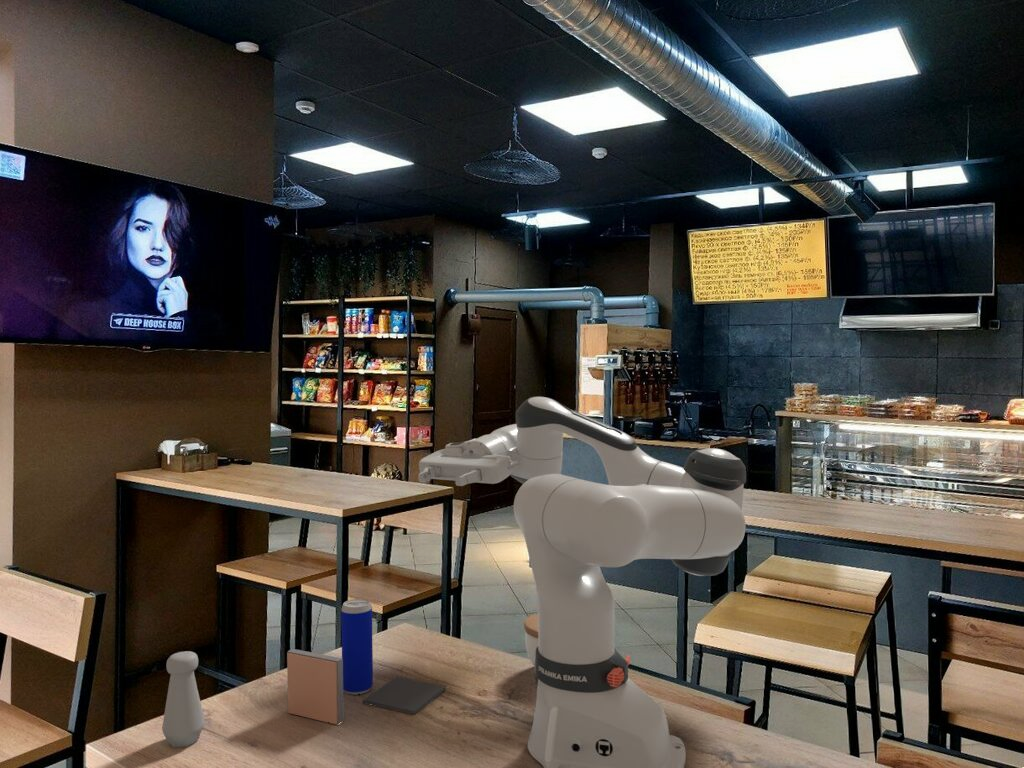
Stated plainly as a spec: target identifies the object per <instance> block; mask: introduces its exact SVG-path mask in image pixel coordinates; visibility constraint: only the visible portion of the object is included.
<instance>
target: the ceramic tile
mask: <svg viewBox="0 0 1024 768" xmlns="http://www.w3.org/2000/svg"><path fill="white" fill-rule="evenodd" d="M286 665H287V667H286V668H287V713H288V714H291V715H296V716H301V717H305V718H308V719H312V720H317V721H320V722H325V723H328V722H329V723H328V724H333V725H337V724H339V723H340V722H342V721H344V720H345V719H344V690H343V658H342V657H338V656H332V655H326V654H322V653H321V654H320V653H317V652H316V653H315V652H311V651H305V650H301V649H295V648H291V649H289V650H288V651H287V653H286ZM342 723H343V722H342Z"/></svg>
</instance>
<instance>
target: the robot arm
mask: <svg viewBox="0 0 1024 768" xmlns="http://www.w3.org/2000/svg"><path fill="white" fill-rule="evenodd" d="M515 420H516V421H515V422H516V423H513V424H509V425H505V426H503V427H499V428H497V429H494V430H493V431H492V432H491V433H489V434H484V435H481V436H479V437H477V438H472V439H469V440H466V441H458V442H449V443H448V444H445V447H444V448H443V449H439V450H436V451H434V452H433V453H430V454H428V455H427V456H424V457H423V458H421V459H420V460H419V462H418V469H419V470H418V471H419V473H418V475H417V477H418V481H419V483H427V482H430V481H431V480H433V479H434V480H442V481H454V483H455V485H456V486H459V487H464V486H465V485H468V484H473V483H474V484H475V483H479V484H488V485H489V484H491V485H494V484H498V483H501V482H503V481H504V480H505V479H507V478H508V477H509V476H510V477H512V478H513V479H514V480H516V481H517V482H519V483H521V484H522V485H521V486H520V487H519V489H518V490H517V493H516V494H515V496H514V501H513V514H514V519H515V521H516V523H517V525H518V527H519V528H520V530H521V533H522V535H523V538H524V541H525V544H526V549H527V554H528V557H529V561H530V567H531V570H532V575H533V580H534V584H535V591H536V602H537V613H538V647H537V648H536V653H535V666H534V677H535V685H536V686H537V687H536V699H535V706H534V707H535V709H534V714H533V721H532V725H531V729H530V733H529V736H528V741H527V750H528V752H529V753H530V755H531V756H532V757H533V758H534V759H535V760H536V761H537V762H538V763H540V764H541V765H542V767H543V768H685V765H686V760H687V754H686V753H687V752H686V747H685V744H684V742H683V740H682V738H681V737H680V738H679V737H677V736H675V735H672V734H670V730H669V724H668V723H669V722H668V718H667V715H666V712H665V711H664V709H663V707H662V706H661V704H659V703H658V702H657V701H655V699H654V698H652V697H651V696H650V695H649V694H648V693H646V691H644V690H643V689H641V688H640V687H639V686H638V685H637V684H636V683H635V682H634V681H633V680H632V679H631V678H629V665H630V664H631V661H630V660H631V658H630V657H631V655H630V654H627V655H626V657H625V658H624V656H622V655H621V654H620V653H619V652H618V651H617V649H616V648H615V646H616V645H615V641H616V640H615V600H614V595H613V591H612V590H611V588H610V587H609V585H608V583H607V582H606V579H605V576H604V575H603V573H602V570H601V569H602V568H621V567H625V566H626V565H628V564H630V563H632V562H634V560H635V561H636V560H644V559H645V560H646V559H651V560H652V559H653V560H654V559H657V560H658V559H659V560H671V561H672V563H673V565H674V566H675V567H677V568H678V569H679V570H683V571H684V572H685V573H688V574H690V575H694V576H698V577H706V576H707V577H709V576H710V577H712V576H713V577H715V576H718V575H719V574H721V573H723V572H724V571H725V569H726V567H727V566H728V564H729V561H730V560H731V559H730V558H731V555H732V554H731V553H732V552H733V551H735V550H737V549H738V548H739V546H740V545H741V544H742V542H743V540H744V537H745V533H746V526H747V525H746V518H745V515H744V513H743V511H742V507H743V501H744V500H743V499H744V487H745V486H744V485H745V484H746V482H747V471H746V465H745V464H744V463H743V461H742V459H741V458H739V457H737V456H736V455H734V454H732V453H731V452H729V451H727V450H725V449H721V448H715V447H713V448H710V447H709V448H708V447H707V448H703V449H696V450H695V451H693V452H691V453H690V454H688V457H687V458H686V461H685V463H684V466H680V465H676V464H672V463H669V462H666V461H662V460H658V459H656V458H654V457H653V456H650V454H647V453H646V452H645V451H643V450H642V449H641V448H640V447H639V446H638V445H637V442H636V441H635V439H634V438H633V437H632V436H631V435H629V434H628V433H626V432H624V431H621V430H620V429H618V428H615V427H613V426H611V425H608V424H606V423H604V422H601V421H599V420H596V419H594V418H592V417H590V416H588V415H584V414H582V413H580V412H578V411H576V410H574V409H570V407H567V406H566V405H564V404H562V403H561V402H559V401H557V400H555V399H553V398H550V397H546V396H545V397H544V396H531V397H529V398H527V399H526V400H525V401H524V402H522V403H521V404H520V406H518V408H517V409H516V411H515ZM564 434H565V435H567V436H570V437H572V438H574V439H577V440H579V441H580V442H583V443H585V444H587V445H589V446H591V447H592V448H593V449H594V450H595V451H596V452H597V454H598V455H599V459H600V460H601V463H602V464H603V467H604V470H605V475H606V477H607V482H608V484H606V483H605V484H604V483H599V482H594V481H589V480H586V479H582V478H581V479H580V478H577V477H573V476H570V475H565V474H562V470H563V469H562V468H563V446H564ZM601 567H602V568H601Z"/></svg>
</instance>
